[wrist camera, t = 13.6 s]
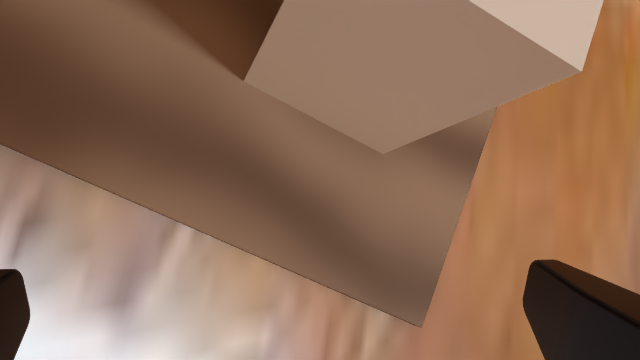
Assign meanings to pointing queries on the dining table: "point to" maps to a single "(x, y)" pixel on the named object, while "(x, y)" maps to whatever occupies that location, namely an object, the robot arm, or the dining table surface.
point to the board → (229, 143)
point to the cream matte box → (417, 60)
